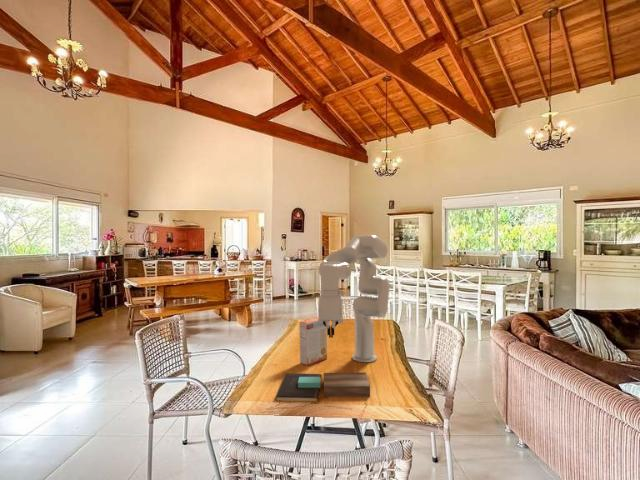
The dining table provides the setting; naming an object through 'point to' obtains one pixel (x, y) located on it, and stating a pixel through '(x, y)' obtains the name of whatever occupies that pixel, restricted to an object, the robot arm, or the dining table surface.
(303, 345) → the cracker box
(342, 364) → the dining table surface
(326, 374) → the brown flat block
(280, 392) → the hardcover book
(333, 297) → the robot arm
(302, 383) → the teal rectangular block
